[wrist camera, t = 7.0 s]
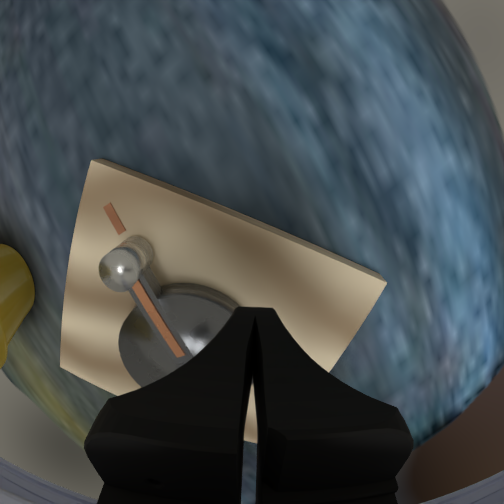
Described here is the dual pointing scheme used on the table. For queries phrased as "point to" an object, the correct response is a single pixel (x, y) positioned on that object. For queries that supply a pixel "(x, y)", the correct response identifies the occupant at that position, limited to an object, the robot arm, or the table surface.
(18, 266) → the plant pot
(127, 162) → the table surface
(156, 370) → the dial
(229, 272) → the base plate
